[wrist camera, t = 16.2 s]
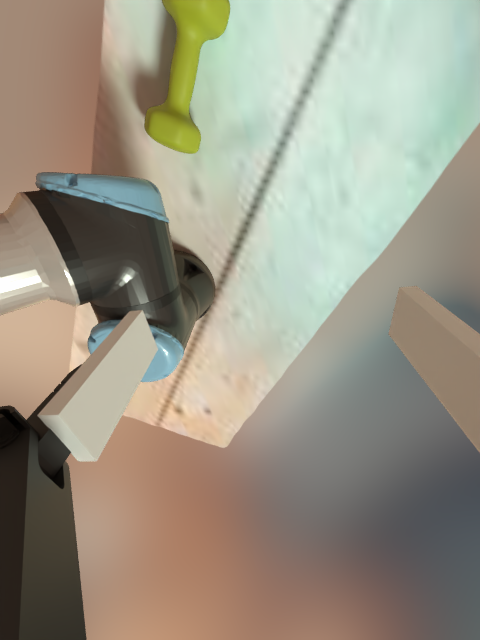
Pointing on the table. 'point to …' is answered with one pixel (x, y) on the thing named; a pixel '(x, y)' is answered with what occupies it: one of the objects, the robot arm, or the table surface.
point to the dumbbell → (185, 71)
